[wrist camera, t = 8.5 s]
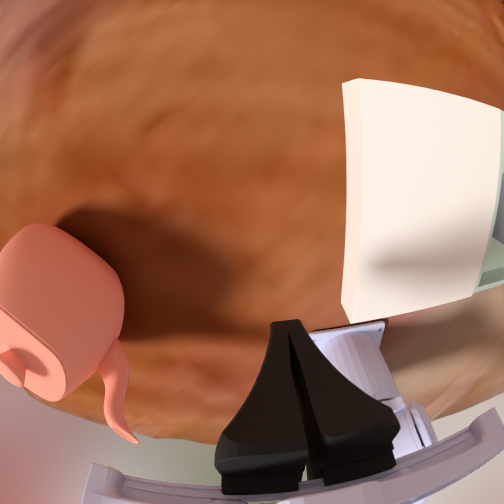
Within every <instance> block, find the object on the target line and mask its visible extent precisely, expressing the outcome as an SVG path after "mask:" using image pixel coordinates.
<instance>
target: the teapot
mask: <svg viewBox="0 0 504 504" xmlns="http://www.w3.org/2000/svg"><path fill="white" fill-rule="evenodd" d="M123 317H124V294H123V289H122V285H121V282H120V280H119V277H118V275H117V274H116V272H115V271H114V270H113V268H112V267H111V266H110V265H109V264H107V263H106V262H105V261H104V260H103V259H102V258H101V257H99V256H98V255H97V254H96V253H94V252H93V251H92V250H91V249H89V248H88V247H87V246H85V245H84V244H83V243H81V242H80V241H78V240H77V239H76V238H74V237H73V236H71V235H69V234H68V233H66V232H65V231H63V230H61V229H59V228H57V227H55V226H51V225H48V224H43V223H33V224H30V225H27V226H25V227H24V228H23V229H21V230H20V231H19V232H18V233H17V234H15V235H14V236H13V238H12V239H11V240H10V241H9V242H8V243H7V244H6V245H5V247H4V248H3V249H2V251H1V252H0V373H1V374H2V375H3V376H4V377H5V378H6V379H7V380H8V381H9V382H11V383H12V384H14V385H16V386H18V387H23V386H25V387H26V388H28V389H29V390H31V391H32V392H34V393H35V394H37V395H38V396H40V397H42V398H44V399H46V400H48V401H59V400H61V399H62V398H64V397H65V396H67V395H68V394H69V393H71V392H72V391H73V390H75V389H76V388H77V387H78V386H79V385H81V384H82V383H83V382H85V381H86V380H87V379H88V378H89V377H90V376H92V374H93V373H94V372H95V371H96V370H98V372H99V373H100V375H101V377H102V378H103V380H104V383H105V388H106V394H105V401H104V413H105V417H106V420H107V422H108V424H109V425H110V427H111V428H112V429H113V430H114V431H115V432H116V433H118V434H119V435H120V436H122V437H124V438H125V439H127V440H128V441H130V442H132V443H135V444H139V442H138V440H137V439H136V437H135V436H134V435H133V433H132V432H131V430H130V429H129V427H128V426H127V423H126V420H125V417H124V399H125V394H126V389H127V385H128V379H129V362H128V357H127V355H126V352H125V349H124V348H123V346H122V344H121V343H120V341H119V339H118V337H119V335H120V331H121V328H122V323H123Z"/></svg>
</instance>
